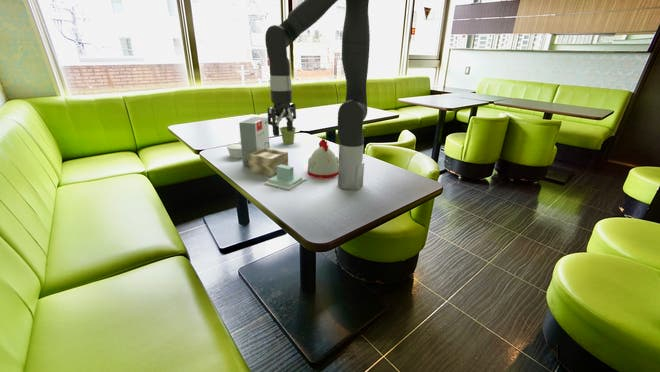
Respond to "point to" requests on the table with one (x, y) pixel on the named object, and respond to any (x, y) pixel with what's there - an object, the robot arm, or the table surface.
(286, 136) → the plant pot
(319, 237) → the table surface
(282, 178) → the lid
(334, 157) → the kitchen timer
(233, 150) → the ramekin
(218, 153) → the table surface
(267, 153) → the crate
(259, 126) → the hard drive box
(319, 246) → the table surface
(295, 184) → the mat
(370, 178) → the table surface
